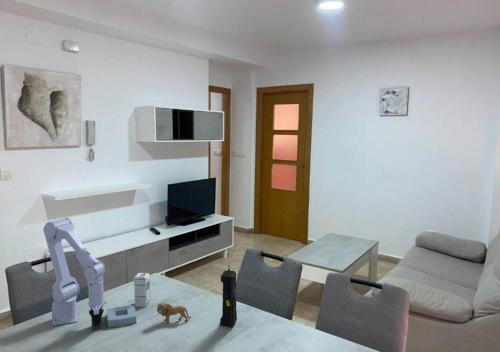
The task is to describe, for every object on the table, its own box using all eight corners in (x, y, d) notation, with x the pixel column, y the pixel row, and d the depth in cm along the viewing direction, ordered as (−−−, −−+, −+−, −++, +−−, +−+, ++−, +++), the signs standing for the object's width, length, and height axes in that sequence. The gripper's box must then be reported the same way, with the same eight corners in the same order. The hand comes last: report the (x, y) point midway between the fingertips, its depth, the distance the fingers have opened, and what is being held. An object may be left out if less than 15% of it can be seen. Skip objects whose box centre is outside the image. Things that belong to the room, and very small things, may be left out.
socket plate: (107, 327, 161) (107, 320, 160) (107, 315, 171) (107, 308, 171) (136, 323, 165) (136, 316, 164) (134, 311, 175) (134, 305, 175)
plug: (91, 330, 158) (91, 316, 157) (92, 325, 162) (91, 312, 161) (102, 328, 160) (101, 315, 159) (102, 324, 163) (101, 311, 163)
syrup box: (146, 307, 180) (146, 277, 178) (134, 306, 180) (133, 276, 178) (150, 301, 186) (150, 272, 184) (138, 301, 186) (137, 272, 184)
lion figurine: (157, 326, 163) (157, 306, 161) (156, 320, 168) (156, 301, 166) (192, 321, 167) (192, 302, 166) (189, 315, 172) (189, 296, 171)
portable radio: (233, 329, 162) (234, 272, 159) (219, 327, 163) (220, 270, 160) (237, 320, 169) (238, 265, 166) (224, 318, 170) (225, 264, 167)
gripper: (106, 297, 154) (107, 329, 155) (106, 284, 167) (106, 313, 169) (87, 300, 151) (88, 332, 153) (88, 286, 164) (89, 316, 166)
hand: (96, 323), depth 160 cm, fingers closed on plug, 4 cm apart
